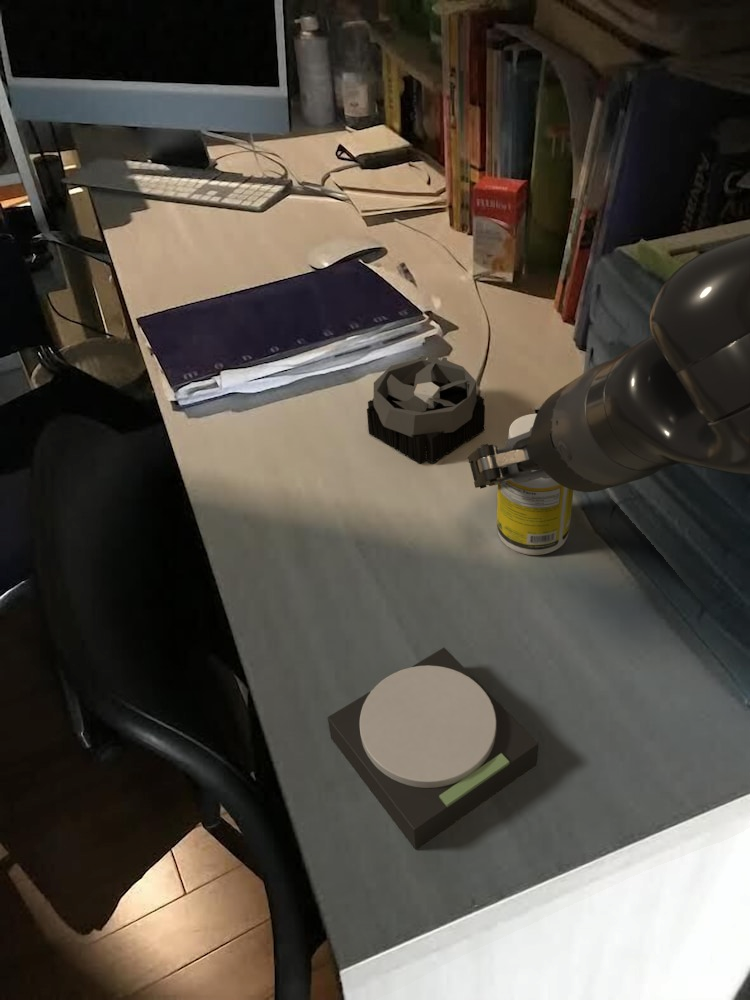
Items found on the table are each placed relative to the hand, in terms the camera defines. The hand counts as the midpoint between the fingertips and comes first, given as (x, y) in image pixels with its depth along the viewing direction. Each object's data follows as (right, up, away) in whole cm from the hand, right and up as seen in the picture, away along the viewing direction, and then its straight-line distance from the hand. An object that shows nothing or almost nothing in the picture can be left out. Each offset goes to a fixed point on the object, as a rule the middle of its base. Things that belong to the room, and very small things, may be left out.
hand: (527, 464), depth 70 cm
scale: (-9, -20, -13) cm, 25 cm away
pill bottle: (+1, -6, +3) cm, 7 cm away
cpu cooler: (-7, +4, +16) cm, 18 cm away
